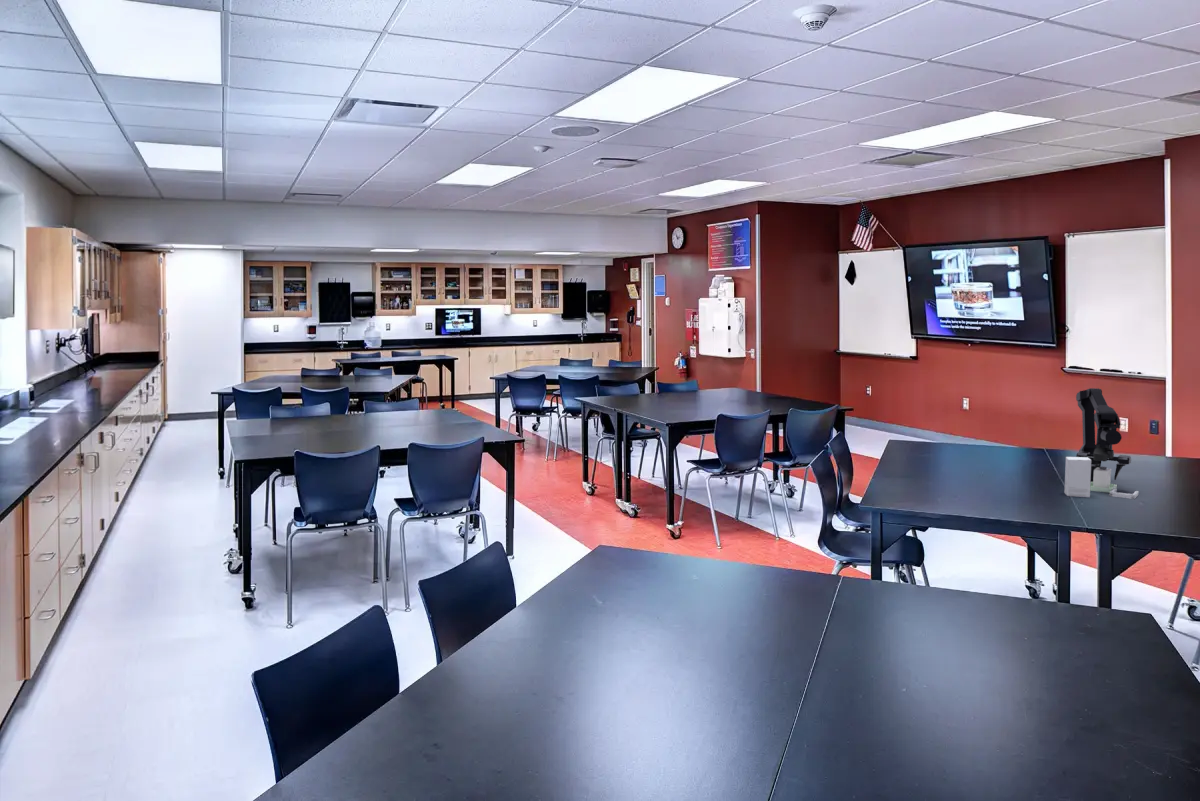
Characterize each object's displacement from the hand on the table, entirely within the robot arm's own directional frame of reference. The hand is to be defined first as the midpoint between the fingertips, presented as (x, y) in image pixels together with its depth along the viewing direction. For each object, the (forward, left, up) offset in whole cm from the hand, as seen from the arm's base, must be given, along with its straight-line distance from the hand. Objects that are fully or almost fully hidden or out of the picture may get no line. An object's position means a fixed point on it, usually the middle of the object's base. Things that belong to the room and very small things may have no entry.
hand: (1102, 478), depth 344 cm
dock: (+9, -7, -5) cm, 12 cm away
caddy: (0, 0, -4) cm, 4 cm away
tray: (0, 0, -5) cm, 5 cm away
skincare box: (-5, -19, -5) cm, 20 cm away
